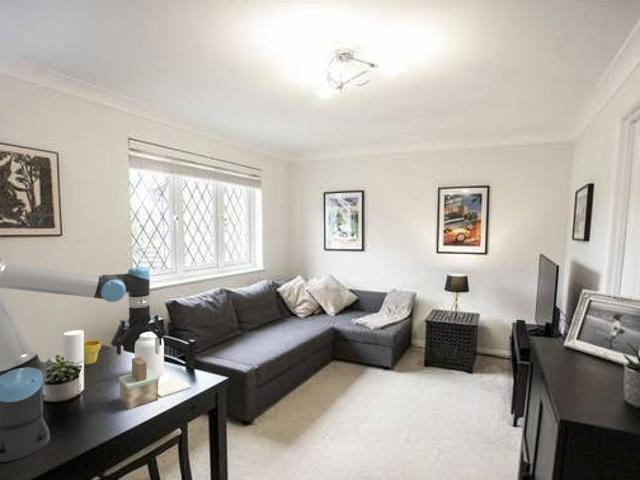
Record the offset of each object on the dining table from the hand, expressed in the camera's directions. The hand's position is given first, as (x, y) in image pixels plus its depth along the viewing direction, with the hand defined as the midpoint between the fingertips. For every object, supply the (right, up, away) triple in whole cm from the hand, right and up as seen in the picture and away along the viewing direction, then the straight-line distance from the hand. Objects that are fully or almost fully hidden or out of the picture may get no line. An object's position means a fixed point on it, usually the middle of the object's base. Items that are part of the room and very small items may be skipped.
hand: (139, 357), depth 141 cm
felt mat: (+8, -17, +11) cm, 22 cm away
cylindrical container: (-32, -17, +7) cm, 37 cm away
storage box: (-1, -17, 0) cm, 17 cm away
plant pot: (-46, -15, +38) cm, 62 cm away
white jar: (-8, -17, +24) cm, 30 cm away
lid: (0, -11, 0) cm, 11 cm away
